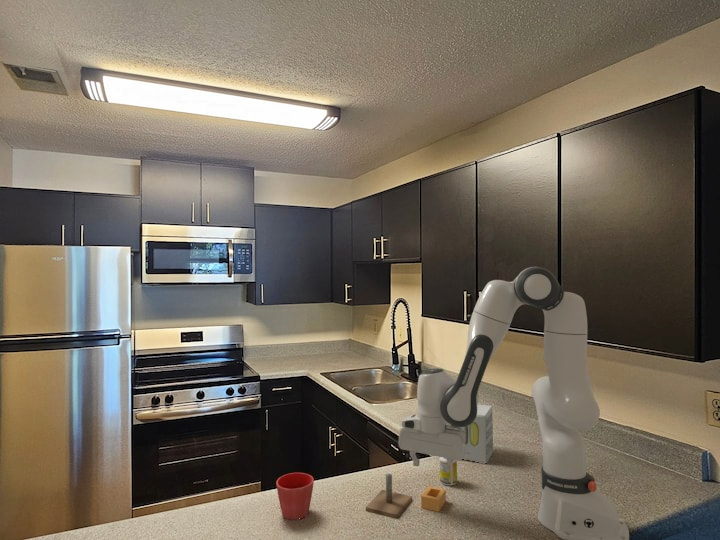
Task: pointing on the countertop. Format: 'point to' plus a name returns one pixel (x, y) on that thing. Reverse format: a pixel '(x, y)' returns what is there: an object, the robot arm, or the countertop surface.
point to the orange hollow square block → (433, 498)
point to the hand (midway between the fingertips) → (431, 468)
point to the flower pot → (295, 494)
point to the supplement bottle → (448, 477)
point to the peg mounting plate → (389, 501)
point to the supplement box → (479, 435)
